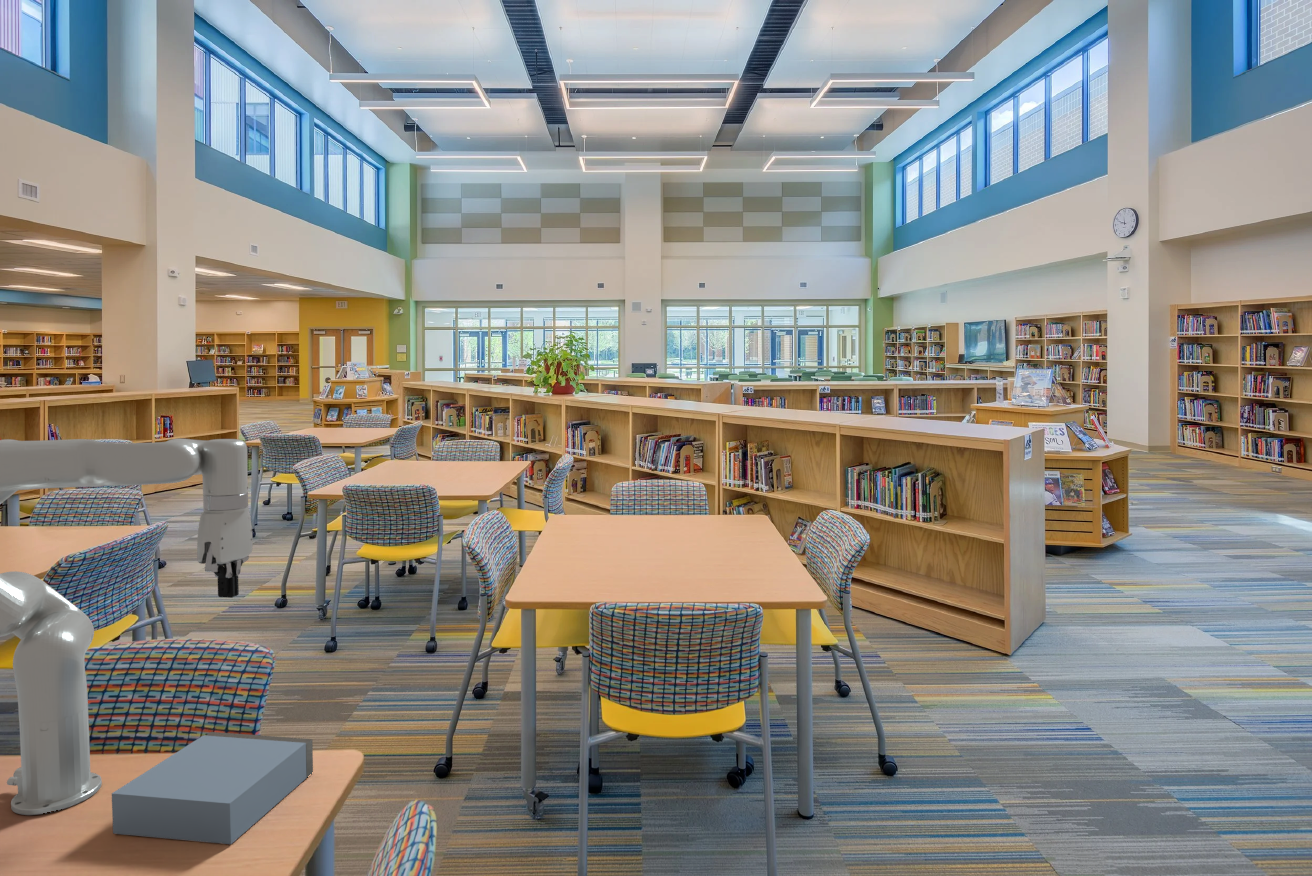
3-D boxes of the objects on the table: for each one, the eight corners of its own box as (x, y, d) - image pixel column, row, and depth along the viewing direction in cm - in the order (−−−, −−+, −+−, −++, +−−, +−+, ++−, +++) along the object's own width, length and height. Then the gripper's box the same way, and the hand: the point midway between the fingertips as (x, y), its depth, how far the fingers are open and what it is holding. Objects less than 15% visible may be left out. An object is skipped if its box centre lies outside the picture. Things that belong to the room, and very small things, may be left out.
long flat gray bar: (204, 771, 141) (203, 736, 140) (212, 765, 143) (211, 731, 142) (306, 779, 138) (306, 744, 138) (313, 773, 140) (312, 739, 140)
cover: (113, 833, 120) (111, 793, 120) (204, 769, 140) (203, 735, 140) (230, 844, 118) (229, 803, 117) (306, 777, 138) (305, 742, 138)
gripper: (234, 497, 149) (237, 585, 150) (178, 508, 135) (181, 606, 136) (268, 498, 148) (270, 587, 150) (216, 509, 134) (218, 608, 135)
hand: (228, 596), depth 143 cm, fingers closed
